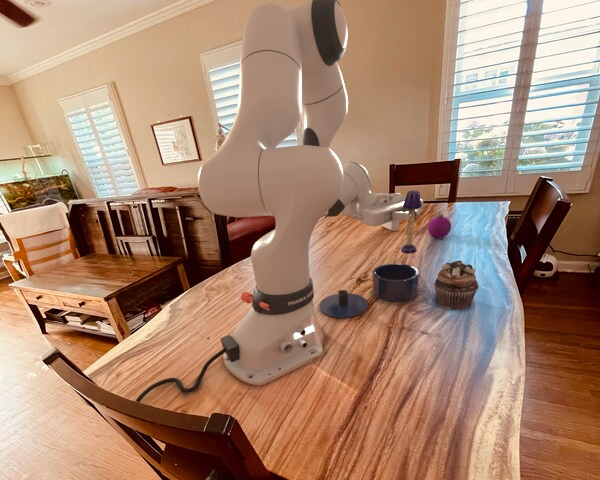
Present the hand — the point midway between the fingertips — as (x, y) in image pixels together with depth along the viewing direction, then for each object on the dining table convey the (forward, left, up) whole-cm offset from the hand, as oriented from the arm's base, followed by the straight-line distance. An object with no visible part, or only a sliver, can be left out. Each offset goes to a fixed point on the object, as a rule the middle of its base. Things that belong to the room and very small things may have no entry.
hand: (414, 215), depth 84 cm
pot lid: (-26, +4, -18) cm, 32 cm away
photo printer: (+40, +33, -18) cm, 55 cm away
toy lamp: (0, +1, -11) cm, 11 cm away
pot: (-12, -2, -18) cm, 22 cm away
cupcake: (-7, -16, -18) cm, 25 cm away
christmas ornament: (+37, +10, -18) cm, 43 cm away
